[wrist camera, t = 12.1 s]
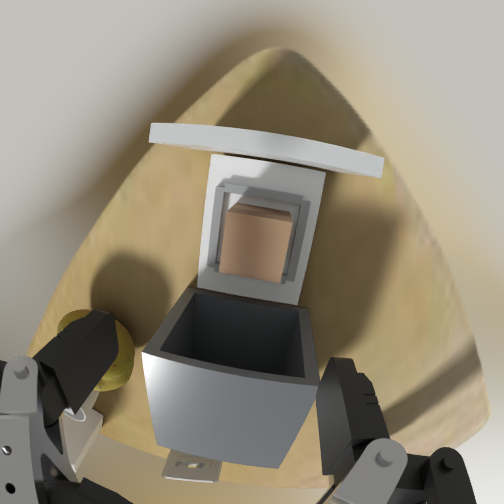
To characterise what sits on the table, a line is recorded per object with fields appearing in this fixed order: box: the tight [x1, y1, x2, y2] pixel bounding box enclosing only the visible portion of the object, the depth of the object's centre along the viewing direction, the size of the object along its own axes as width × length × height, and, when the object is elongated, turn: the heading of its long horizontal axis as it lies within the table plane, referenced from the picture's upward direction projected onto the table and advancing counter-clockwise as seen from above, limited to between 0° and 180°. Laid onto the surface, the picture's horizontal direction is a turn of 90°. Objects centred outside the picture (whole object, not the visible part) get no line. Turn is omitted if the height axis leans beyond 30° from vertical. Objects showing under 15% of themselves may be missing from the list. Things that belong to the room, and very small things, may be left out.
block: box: [219, 203, 293, 283], centre depth 24 cm, size 5×5×5 cm
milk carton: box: [62, 409, 103, 472], centre depth 35 cm, size 7×7×19 cm
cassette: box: [162, 449, 222, 483], centre depth 39 cm, size 12×2×8 cm, turn 108°
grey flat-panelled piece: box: [149, 123, 384, 305], centre depth 21 cm, size 14×15×11 cm
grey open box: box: [142, 287, 320, 469], centre depth 27 cm, size 14×15×12 cm
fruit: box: [57, 309, 135, 391], centre depth 30 cm, size 11×12×10 cm
